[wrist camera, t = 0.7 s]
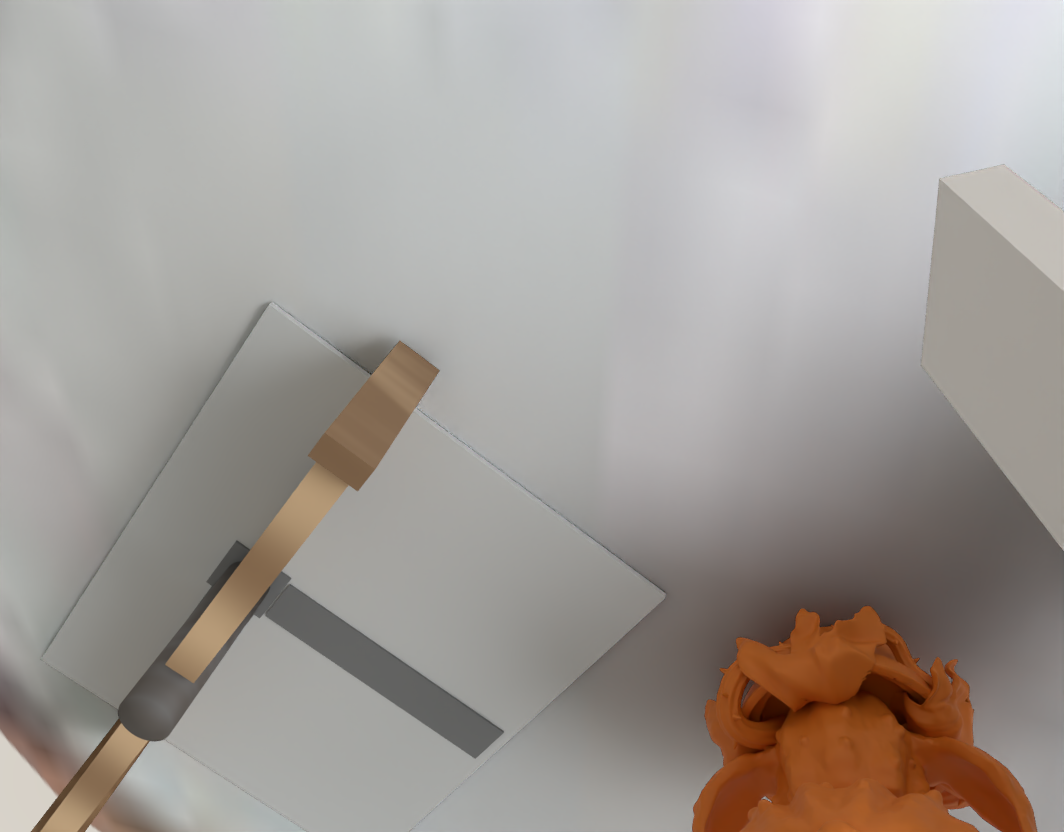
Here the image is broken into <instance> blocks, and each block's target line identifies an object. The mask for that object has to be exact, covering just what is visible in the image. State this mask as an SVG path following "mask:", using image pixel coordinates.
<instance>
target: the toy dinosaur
mask: <svg viewBox="0 0 1064 832" xmlns="http://www.w3.org/2000/svg"><path fill="white" fill-rule="evenodd" d="M795 621H796V624H795V629H794V630H793V631H792V632H791V633H790V638H789V639H787V640H786V641H784V642H783V643H781V642H780V641H779V646H772V647H768V646H766V645H764V644H761V643H759V642H757V641H753V640H750V639H747V638H742V637H738V638H737V639H736V644H737V648H738V650H739V651H738V653H737V660H736V661H735V662H733V663H732V664H731V665H730V666H729V668H728V669H724V668H720V669H719V670H720V671H721V672H722V673H724V676H723V678H722V680H721V683H720V687H719V690H718V693H717V699H716V701H714V700H710V699H708V700H707V702H706V706H705V715H704V717H705V720H706V724H707V728H708V731H709V734H710V737H711V739H712V741H713V742H714V743H715V744H717V745H718V746H719V747H720V748H721V751H722V755H723V757H724V758H723V766H724V767H722V768H721V769H720V770H718V771H717V772H716V773H715V774H714V775H713V777H712V778H711V779H710V780H709V782H708V783H707V784H706V786H705V787H704V789H703V790H702V791H701V794H700V796H699V799H698V801H697V802H696V803H695V804H694V807H693V812H694V819H693V825H692V832H979V831H978V830H977V829H976V828H975V827H974V826H973V825H971V824H969V823H966V822H963V821H961V820H959V819H956V818H954V817H953V816H951V815H949V813H948V809H960V808H964V807H967V806H970V807H971V808H972V809H973V810H974V811H975V812H976V813H977V814H978V815H979V816H980V817H981V818H982V819H984V820H985V821H986V822H988V823H989V824H991V825H992V826H994V827H995V828H996V829H998V830H1000V831H1002V832H1037V828H1036V823H1035V817H1034V812H1033V809H1032V806H1031V804H1030V802H1029V800H1028V798H1027V796H1026V795H1025V793H1024V789H1023V788H1022V787H1021V785H1020V784H1019V782H1018V781H1017V779H1016V778H1015V777H1014V776H1013V775H1012V773H1011V772H1010V771H1009V770H1008V768H1006V767H1005V766H1004V765H1002V764H1001V763H1000V762H999V761H997V760H996V759H994V758H993V757H992V756H990V755H989V754H987V753H986V752H984V751H983V750H981V749H979V748H976V747H974V746H973V743H974V741H973V713H974V709H972V705H971V703H970V700H969V690H970V689H969V685H968V684H967V682H966V681H964V680H963V679H962V678H960V677H959V676H958V675H957V674H956V673H955V671H954V667H955V665H956V664H957V662H958V660H957V659H954V660H951V661H949V662H948V663H947V664H946V665H945V670H944V667H943V664H942V661H941V659H940V658H939V657H937V658H936V659H935V661H934V663H933V665H932V667H931V669H930V672H931V676H932V677H931V676H930V675H929V674H927V673H926V672H924V671H923V670H921V669H920V668H919V667H918V666H917V665H916V663H917V661H918V660H919V659H920V658H917V659H912V657H911V654H910V652H909V650H908V647H907V645H906V643H905V641H904V640H903V639H902V637H901V636H900V635H899V634H898V633H897V632H896V631H895V630H893V629H892V628H890V627H889V626H886V625H885V624H883V623H881V621H880V617H879V616H878V614H877V613H876V611H875V610H874V609H873V608H871V606H864V607H862V608H861V610H860V611H859V612H858V613H854V618H853V619H851V620H850V619H849V620H844V621H841V620H837V621H836V622H835V624H834V625H831V626H828V627H820V617H819V615H818V614H817V613H815V612H808V611H806V610H805V609H800V610H799V612H798V613H797V615H796V619H795ZM945 672H946V673H945ZM946 674H947V675H948V676H949V677H951V678H952V679H953V681H952V683H951V682H950V681H949V679H948V677H947V675H946ZM750 680H752V681H754V682H755V683H754V684H753V685H752V687H751V688H750V689H749V691H748V693H747V694H746V697H745V699H744V701H743V704H742V707H741V700H742V696H743V692H744V689H745V687H746V685H747V684H748V682H749V681H750ZM764 796H766V797H767V798H768V799H769V800H771V801H772V803H771V802H770V801H768V800H765V799H762V798H763V797H764ZM761 799H762V800H761Z"/></svg>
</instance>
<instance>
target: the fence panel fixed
mask: <svg viewBox="0 0 1064 832" xmlns="http://www.w3.org/2000/svg"><path fill="white" fill-rule="evenodd" d="M241 562H242V561H239V562H235V563H233V564H231V565H230V566H229V567H228V569H227V570H226V571H225V572H224V574H223V575H222V576H221V577H220V579H219V580H218V581H217V582H216V584H215V585H214V586H213V588H212V589H211V590H210V591H209V593H208V594H207V595H206V596H205V598H204V599H203V600H202V601H201V603H200V604H199V605H198V606H197V608H196V609H195V610H194V612H193V613H192V614H191V615H190V617H189V618H188V619H187V620H186V622H185V623H184V624H183V625H182V627H181V628H180V629H179V630H178V632H177V633H176V634H175V635H174V637H173V638H172V639H171V641H170V642H169V643H168V644H167V646H166V647H165V648H164V649H163V651H162V652H161V653H160V654H159V656H158V657H157V658H156V659H155V661H154V662H153V663H152V665H151V666H150V667H149V668H148V670H147V671H146V672H145V673H144V675H143V676H142V677H141V678H140V680H139V681H138V682H137V683H136V685H135V686H134V687H133V688H132V690H131V691H130V692H129V694H128V695H127V696H126V697H125V699H124V700H123V701H122V702H121V704H120V705H119V708H118V716H119V719H118V720H117V722H116V723H115V724H114V726H113V727H112V728H111V729H110V731H109V732H108V733H107V735H106V736H105V737H104V738H103V740H102V741H101V742H100V744H99V745H98V746H97V747H96V749H95V750H94V751H93V753H92V754H91V755H90V756H89V758H88V759H87V760H86V762H85V763H84V764H83V765H82V767H81V768H80V769H79V771H78V772H77V773H76V774H75V776H74V777H73V778H72V780H71V781H70V782H69V783H68V785H67V786H66V787H65V789H64V790H63V791H62V792H61V794H60V795H59V796H58V798H57V799H56V800H55V801H54V803H53V804H52V805H51V807H50V808H49V809H48V810H47V812H46V813H45V814H44V816H43V817H42V818H41V820H40V821H39V822H38V823H37V825H36V826H35V827H34V829H33V830H32V831H31V832H85V831H86V830H87V828H88V827H89V825H90V824H91V823H92V821H93V820H94V818H95V817H96V816H97V814H98V813H99V811H100V810H101V809H102V807H103V806H104V804H105V803H106V802H107V800H108V799H109V797H110V796H111V795H112V793H113V792H114V790H115V789H116V788H117V786H118V785H119V783H120V782H121V781H122V779H123V778H124V776H125V775H126V774H127V772H128V771H129V769H130V768H131V767H132V765H133V764H134V762H135V761H136V760H137V758H138V757H139V755H140V754H141V753H142V751H143V750H144V748H145V747H146V746H147V744H148V743H149V741H160V740H163V739H165V738H167V737H168V736H169V735H170V733H171V732H172V731H173V729H174V728H175V726H176V725H177V723H178V722H179V720H180V719H181V718H182V716H183V715H184V713H185V712H186V710H187V709H188V708H189V706H190V705H191V703H192V702H193V700H194V699H195V697H196V696H197V695H198V693H199V692H200V690H201V689H202V687H203V686H204V684H205V683H206V682H207V680H208V679H209V677H210V676H211V674H212V673H213V672H214V670H215V669H216V667H217V666H218V664H219V663H220V661H221V660H222V659H223V657H224V656H225V654H226V653H227V651H228V650H229V649H230V647H231V646H232V644H233V643H234V641H235V640H236V638H237V637H238V636H239V634H240V633H241V631H242V630H243V628H244V627H245V625H246V624H247V623H248V621H249V620H250V618H251V617H252V615H253V614H254V613H255V611H256V610H257V608H258V607H259V605H260V604H261V602H262V601H263V600H264V598H265V597H266V595H267V594H268V592H269V590H270V587H269V588H268V589H267V590H266V592H265V593H264V594H263V595H262V597H261V598H260V599H259V601H258V602H257V603H256V604H255V606H254V607H253V608H252V610H251V611H250V612H249V613H248V615H247V616H246V617H245V618H244V620H243V621H242V622H241V624H240V625H239V626H238V627H237V629H236V630H235V631H234V633H233V634H232V635H231V636H230V638H229V639H228V640H227V641H226V643H225V644H224V645H223V647H222V648H221V649H220V650H219V652H218V653H217V654H216V656H215V657H214V658H213V659H212V661H211V662H210V663H209V664H208V666H207V667H206V668H205V670H204V671H203V672H202V673H201V675H200V676H199V677H198V679H197V680H196V681H195V682H194V683H192V682H191V681H189V680H188V679H186V678H185V677H183V676H182V675H180V674H179V673H177V672H176V671H174V670H173V669H171V668H170V667H168V666H166V665H165V664H166V662H167V661H168V660H169V658H170V657H171V656H172V654H173V653H174V652H175V650H176V649H177V648H178V646H179V645H180V644H181V642H182V641H183V640H184V638H185V637H186V636H187V634H188V633H189V631H190V630H191V629H192V627H193V626H194V625H195V623H196V622H197V621H198V619H199V618H200V617H201V615H202V614H203V613H204V611H205V610H206V609H207V607H208V606H209V605H210V603H211V602H212V601H213V599H214V598H215V597H216V595H217V594H218V593H219V591H220V590H221V589H222V587H223V586H224V585H225V583H226V582H227V581H228V579H229V578H230V577H231V575H232V574H233V573H234V571H235V570H236V569H237V567H238V566H239V565H240V563H241Z"/></svg>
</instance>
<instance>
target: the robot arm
mask: <svg viewBox="0 0 1064 832" xmlns="http://www.w3.org/2000/svg"><path fill="white" fill-rule="evenodd" d="M921 366H922V367H923V369H924V370H925V371H926V373H927V374H928V375H929V376H930V378H931V379H932V380H933V382H934V383H935V384H936V386H937V387H938V388H939V389H940V391H941V392H942V393H943V395H944V396H945V397H946V399H947V400H948V401H949V402H950V404H951V405H952V406H953V408H954V409H955V410H956V412H957V413H958V414H959V415H960V417H961V418H962V419H963V421H964V422H965V423H966V425H967V426H968V427H969V429H970V430H971V431H972V432H973V434H974V435H975V436H976V438H977V439H978V440H979V442H980V443H981V444H982V445H983V447H984V448H985V449H986V451H987V452H988V453H989V455H990V456H991V457H992V458H993V460H994V461H995V462H996V464H997V465H998V466H999V468H1000V469H1001V470H1002V472H1003V473H1004V474H1005V475H1006V477H1007V478H1008V479H1009V481H1010V482H1011V483H1012V485H1013V486H1014V487H1015V488H1016V490H1017V491H1018V492H1019V494H1020V495H1021V496H1022V498H1023V499H1024V500H1025V501H1026V503H1027V504H1028V505H1029V507H1030V508H1031V509H1032V511H1033V512H1034V513H1035V514H1036V516H1037V517H1038V518H1039V520H1040V521H1041V522H1042V524H1043V525H1044V526H1045V528H1046V529H1047V530H1048V531H1049V533H1050V534H1051V535H1052V537H1053V538H1054V539H1055V541H1056V542H1057V543H1058V544H1059V546H1060V547H1061V548H1062V550H1063V551H1064V211H1063V210H1062V209H1060V208H1059V207H1058V206H1057V205H1055V204H1054V203H1053V202H1051V201H1050V200H1049V199H1048V198H1046V197H1045V196H1044V195H1042V194H1041V193H1040V192H1039V191H1037V190H1036V189H1035V188H1034V187H1032V186H1031V185H1030V184H1028V183H1027V182H1026V181H1025V180H1023V179H1022V178H1021V177H1020V176H1018V175H1017V174H1016V173H1014V172H1013V171H1012V170H1011V169H1009V168H1008V167H1007V166H1006V165H999V166H995V167H990V168H985V169H981V170H976V171H972V172H967V173H963V174H958V175H954V176H949V177H944V178H940V179H939V188H938V198H937V208H936V218H935V228H934V238H933V248H932V258H931V269H930V279H929V289H928V299H927V309H926V319H925V329H924V339H923V349H922V359H921Z"/></svg>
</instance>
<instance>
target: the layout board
mask: <svg viewBox="0 0 1064 832" xmlns="http://www.w3.org/2000/svg"><path fill="white" fill-rule="evenodd" d="M370 376H371V375H370V374H369V373H368V372H366V371H365V370H364V369H362V368H361V367H360V366H358V365H357V364H356V363H354V362H353V361H351V360H350V359H349V358H347V357H346V356H345V355H343V354H342V353H341V352H339V351H338V350H337V349H335V348H334V347H333V346H331V345H330V344H329V343H327V342H326V341H324V340H323V339H322V338H320V337H319V336H318V335H316V334H315V333H314V332H312V331H311V330H310V329H308V328H307V327H306V326H304V325H303V324H302V323H300V322H299V321H297V320H296V319H295V318H293V317H292V316H291V315H289V314H288V313H287V312H285V311H284V310H283V309H281V308H280V307H279V306H277V305H276V304H275V303H273V302H271V303H270V304H269V305H268V307H267V308H266V310H265V311H264V313H263V314H262V316H261V317H260V319H259V321H258V322H257V324H256V325H255V327H254V328H253V330H252V332H251V333H250V335H249V336H248V338H247V339H246V341H245V342H244V344H243V346H242V347H241V349H240V350H239V352H238V353H237V355H236V356H235V358H234V360H233V361H232V363H231V364H230V366H229V367H228V369H227V370H226V372H225V374H224V375H223V377H222V378H221V380H220V381H219V383H218V384H217V386H216V388H215V389H214V391H213V392H212V394H211V395H210V397H209V398H208V400H207V402H206V403H205V405H204V406H203V408H202V409H201V411H200V412H199V414H198V416H197V417H196V419H195V420H194V422H193V423H192V425H191V426H190V428H189V430H188V431H187V433H186V434H185V436H184V437H183V439H182V440H181V442H180V444H179V445H178V447H177V448H176V450H175V451H174V453H173V454H172V456H171V458H170V459H169V461H168V462H167V464H166V465H165V467H164V468H163V470H162V472H161V473H160V475H159V476H158V478H157V479H156V481H155V482H154V484H153V486H152V487H151V489H150V490H149V492H148V493H147V495H146V496H145V498H144V500H143V501H142V503H141V504H140V506H139V507H138V509H137V511H136V512H135V514H134V515H133V517H132V518H131V520H130V521H129V523H128V525H127V526H126V528H125V529H124V531H123V532H122V534H121V535H120V537H119V539H118V540H117V542H116V543H115V545H114V546H113V548H112V549H111V551H110V553H109V554H108V556H107V557H106V559H105V560H104V562H103V563H102V565H101V567H100V568H99V570H98V571H97V573H96V574H95V576H94V577H93V579H92V581H91V582H90V584H89V585H88V587H87V588H86V590H85V591H84V593H83V595H82V596H81V598H80V599H79V601H78V602H77V604H76V605H75V607H74V609H73V610H72V612H71V613H70V615H69V616H68V618H67V619H66V621H65V623H64V624H63V626H62V627H61V629H60V630H59V632H58V633H57V635H56V637H55V638H54V640H53V641H52V643H51V644H50V646H49V647H48V649H47V651H46V652H45V654H44V655H43V657H42V658H41V660H42V661H43V662H45V663H46V664H48V665H49V666H51V667H52V668H54V669H55V670H57V671H59V672H60V673H62V674H63V675H65V676H66V677H68V678H69V679H71V680H73V681H74V682H76V683H77V684H79V685H80V686H82V687H83V688H85V689H86V690H88V691H90V692H91V693H93V694H94V695H96V696H97V697H99V698H100V699H102V700H104V701H105V702H107V703H108V704H110V705H111V706H113V707H114V708H116V709H117V710H118V708H119V705H120V704H121V702H122V701H123V700H124V699H125V697H126V696H127V695H128V694H129V692H130V691H131V690H132V688H133V687H134V686H135V685H136V683H137V682H138V681H139V680H140V678H141V677H142V676H143V675H144V673H145V672H146V671H147V670H148V668H149V667H150V666H151V665H152V663H153V662H154V661H155V659H156V658H157V657H158V656H159V654H160V653H161V652H162V651H163V649H164V648H165V647H166V646H167V644H168V643H169V642H170V641H171V639H172V638H173V637H174V635H175V634H176V633H177V632H178V630H179V629H180V628H181V627H182V625H183V624H184V623H185V622H186V620H187V619H188V618H189V617H190V615H191V614H192V613H193V612H194V610H195V609H196V608H197V606H198V605H199V604H200V603H201V601H202V600H203V599H204V598H205V596H206V595H207V594H208V593H209V591H210V590H211V589H212V588H213V586H214V585H215V584H216V582H217V581H218V580H219V579H220V577H221V576H222V575H223V574H224V572H225V571H226V570H227V569H228V567H229V566H230V565H231V564H233V563H235V562H239V561H243V559H244V558H245V557H246V555H247V554H248V552H249V551H250V550H251V548H252V547H253V546H254V544H255V543H256V542H257V540H258V539H259V538H260V536H261V535H262V534H263V532H264V531H265V530H266V528H267V527H268V526H269V524H270V523H271V522H272V520H273V519H274V518H275V516H276V515H277V514H278V512H279V511H280V510H281V508H282V507H283V506H284V504H285V503H286V502H287V500H288V499H289V498H290V496H291V495H292V494H293V492H294V491H295V490H296V488H297V487H298V486H299V484H300V483H301V482H302V480H303V479H304V478H305V476H306V475H307V473H308V472H309V471H310V469H311V468H312V467H313V465H314V464H315V463H316V461H314V460H313V459H311V458H310V457H309V456H308V454H309V453H310V452H311V450H312V449H313V448H314V446H315V445H316V443H317V442H318V441H319V439H320V438H321V437H322V435H323V434H324V433H325V431H326V430H327V429H328V428H329V427H330V425H331V424H332V423H333V422H334V420H335V419H336V418H337V417H338V415H339V414H340V413H341V412H342V411H343V409H344V408H345V407H346V406H347V404H348V403H349V402H350V401H351V400H352V398H353V397H354V396H355V395H356V393H357V392H358V391H359V390H360V389H361V387H362V386H363V385H364V384H365V382H366V381H367V380H368V379H369V377H370ZM665 598H666V593H665V592H663V591H662V590H661V589H659V588H658V587H657V586H655V585H654V584H653V583H651V582H650V581H648V580H647V579H646V578H644V577H643V576H642V575H640V574H639V573H638V572H636V571H635V570H634V569H632V568H631V567H630V566H628V565H627V564H626V563H624V562H623V561H621V560H620V559H619V558H617V557H616V556H615V555H613V554H612V553H611V552H609V551H608V550H607V549H605V548H604V547H603V546H601V545H600V544H599V543H597V542H596V541H594V540H593V539H592V538H590V537H589V536H588V535H586V534H585V533H584V532H582V531H581V530H580V529H578V528H577V527H576V526H574V525H573V524H572V523H570V522H569V521H567V520H566V519H565V518H563V517H562V516H561V515H559V514H558V513H557V512H555V511H554V510H553V509H551V508H550V507H549V506H547V505H546V504H545V503H543V502H542V501H540V500H539V499H538V498H536V497H535V496H534V495H532V494H531V493H530V492H528V491H527V490H526V489H524V488H523V487H522V486H520V485H519V484H518V483H516V482H515V481H513V480H512V479H511V478H509V477H508V476H507V475H505V474H504V473H503V472H501V471H500V470H499V469H497V468H496V467H495V466H493V465H492V464H491V463H489V462H488V461H486V460H485V459H484V458H482V457H481V456H480V455H478V454H477V453H476V452H474V451H473V450H472V449H470V448H469V447H468V446H466V445H465V444H464V443H462V442H461V441H459V440H458V439H457V438H455V437H454V436H453V435H451V434H450V433H449V432H447V431H446V430H445V429H443V428H442V427H441V426H439V425H438V424H437V423H435V422H434V421H432V420H431V419H430V418H428V417H427V416H426V415H424V414H423V413H422V412H420V411H419V410H418V409H416V408H415V409H414V411H413V412H412V414H411V415H410V417H409V418H408V420H407V422H406V423H405V425H404V426H403V428H402V429H401V431H400V432H399V434H398V435H397V437H396V438H395V440H394V441H393V443H392V445H391V446H390V448H389V449H388V451H387V452H386V454H385V455H384V457H383V458H382V460H381V461H380V463H379V465H378V466H377V468H376V469H375V470H374V472H373V473H372V474H371V475H370V477H369V478H368V479H367V481H366V482H365V483H364V484H363V486H362V487H361V488H360V489H359V491H358V492H357V491H356V490H355V489H353V488H352V487H351V486H348V487H347V488H346V489H345V491H344V492H343V493H342V495H341V496H340V497H339V498H338V500H337V501H336V502H335V503H334V505H333V506H332V507H331V509H330V510H329V511H328V512H327V514H326V515H325V516H324V518H323V519H322V520H321V521H320V523H319V524H318V525H317V526H316V528H315V529H314V530H313V532H312V533H311V534H310V535H309V537H308V538H307V539H306V541H305V542H304V543H303V544H302V546H301V547H300V548H299V549H298V551H297V552H296V553H295V555H294V556H293V557H292V558H291V560H290V561H289V562H288V564H287V565H286V566H285V567H284V569H283V570H282V571H281V572H280V574H279V575H278V576H277V578H276V579H275V580H274V581H273V583H272V584H271V585H270V590H269V592H268V594H267V595H266V597H265V598H264V600H263V601H262V602H261V604H260V605H259V607H258V608H257V610H256V611H255V613H254V614H253V615H252V617H251V618H250V620H249V621H248V623H247V624H246V625H245V627H244V628H243V630H242V631H241V633H240V634H239V636H238V637H237V638H236V640H235V641H234V643H233V644H232V646H231V647H230V649H229V650H228V651H227V653H226V654H225V656H224V657H223V659H222V660H221V661H220V663H219V664H218V666H217V667H216V669H215V670H214V672H213V673H212V674H211V676H210V677H209V679H208V680H207V682H206V683H205V684H204V686H203V687H202V689H201V690H200V692H199V693H198V695H197V696H196V697H195V699H194V700H193V702H192V703H191V705H190V706H189V708H188V709H187V710H186V712H185V713H184V715H183V716H182V718H181V719H180V720H179V722H178V723H177V725H176V726H175V728H174V729H173V731H172V732H171V733H170V735H169V736H168V737H167V738H165V739H164V740H166V741H167V742H169V743H170V744H172V745H173V746H175V747H176V748H178V749H179V750H181V751H183V752H184V753H186V754H187V755H189V756H190V757H192V758H193V759H195V760H197V761H198V762H200V763H201V764H203V765H204V766H206V767H207V768H209V769H210V770H212V771H214V772H215V773H217V774H218V775H220V776H221V777H223V778H224V779H226V780H228V781H229V782H231V783H232V784H234V785H235V786H237V787H238V788H240V789H242V790H243V791H245V792H246V793H248V794H249V795H251V796H252V797H254V798H255V799H257V800H259V801H260V802H262V803H263V804H265V805H266V806H268V807H269V808H271V809H273V810H274V811H276V812H277V813H279V814H280V815H282V816H283V817H285V818H286V819H288V820H290V821H291V822H293V823H294V824H296V825H297V826H299V827H300V828H302V829H304V830H305V831H307V832H409V831H411V830H412V829H413V828H414V827H415V826H416V825H417V824H418V823H419V822H420V821H422V820H423V819H424V818H425V817H426V816H427V815H428V814H429V813H430V812H431V811H433V810H434V809H435V808H436V807H437V806H438V805H439V804H440V803H441V802H442V801H443V800H445V799H446V798H447V797H448V796H449V795H450V794H451V793H452V792H453V791H454V790H456V789H457V788H458V787H459V786H460V785H461V784H462V783H463V782H464V781H465V780H467V779H468V778H469V777H470V776H471V775H472V774H473V773H474V772H475V771H476V770H478V769H479V768H480V767H481V766H482V765H483V764H484V763H485V762H486V761H487V760H489V759H490V758H491V757H492V756H493V755H494V754H495V753H496V752H497V751H498V750H499V749H501V748H502V747H503V746H504V745H505V744H506V743H507V742H508V741H509V740H510V739H512V738H513V737H514V736H515V735H516V734H517V733H518V732H519V731H520V730H521V729H523V728H524V727H525V726H526V725H527V724H528V723H529V722H530V721H531V720H532V719H534V718H535V717H536V716H537V715H538V714H539V713H540V712H541V711H542V710H543V709H544V708H546V707H547V706H548V705H549V704H550V703H551V702H552V701H553V700H554V699H555V698H557V697H558V696H559V695H560V694H561V693H562V692H563V691H564V690H565V689H566V688H568V687H569V686H570V685H571V684H572V683H573V682H574V681H575V680H576V679H577V678H579V677H580V676H581V675H582V674H583V673H584V672H585V671H586V670H587V669H588V668H590V667H591V666H592V665H593V664H594V663H595V662H596V661H597V660H598V659H599V658H600V657H602V656H603V655H604V654H605V653H606V652H607V651H608V650H609V649H610V648H611V647H613V646H614V645H615V644H616V643H617V642H618V641H619V640H620V639H621V638H622V637H624V636H625V635H626V634H627V633H628V632H629V631H630V630H631V629H632V628H633V627H635V626H636V625H637V624H638V623H639V622H640V621H641V620H642V619H643V618H644V617H646V616H647V615H648V614H649V613H650V612H651V611H652V610H653V609H654V608H655V607H656V606H658V605H659V604H660V603H661V602H662V601H663V600H664V599H665Z"/></svg>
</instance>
